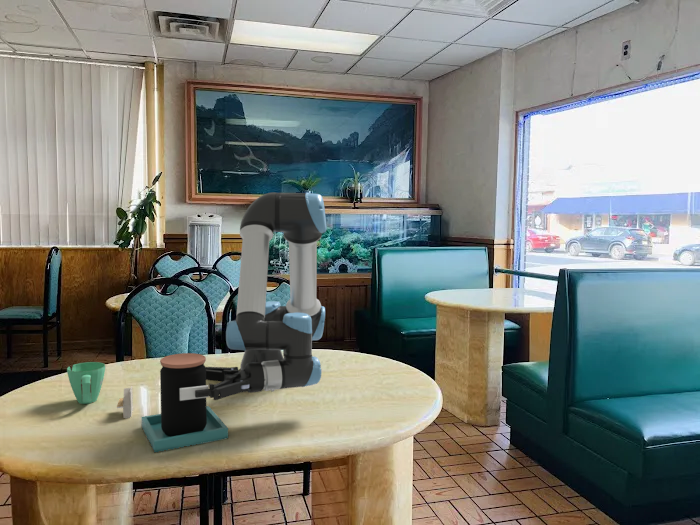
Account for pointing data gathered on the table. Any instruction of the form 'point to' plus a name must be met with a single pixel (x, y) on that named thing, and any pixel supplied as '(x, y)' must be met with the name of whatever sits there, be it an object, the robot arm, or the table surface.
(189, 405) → the coffee jar
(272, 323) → the robot arm
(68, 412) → the table surface
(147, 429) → the tray
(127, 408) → the architectural model
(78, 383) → the mug
